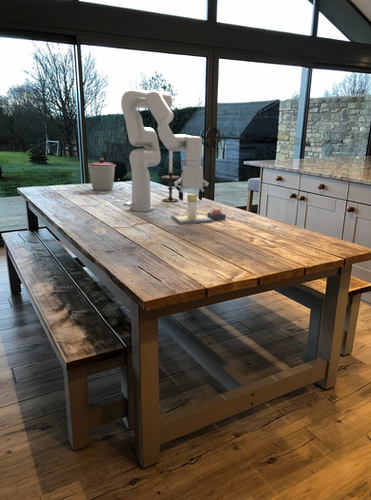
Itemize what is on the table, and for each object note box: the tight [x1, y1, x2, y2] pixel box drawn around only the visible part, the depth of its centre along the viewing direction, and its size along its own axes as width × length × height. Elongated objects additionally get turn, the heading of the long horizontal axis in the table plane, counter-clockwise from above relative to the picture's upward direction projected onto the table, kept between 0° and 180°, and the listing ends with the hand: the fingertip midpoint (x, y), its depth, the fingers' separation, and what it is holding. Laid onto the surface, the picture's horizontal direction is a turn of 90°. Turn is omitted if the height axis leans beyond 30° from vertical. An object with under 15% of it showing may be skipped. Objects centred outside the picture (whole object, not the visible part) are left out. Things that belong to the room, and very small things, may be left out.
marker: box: [186, 193, 198, 218], centre depth 196 cm, size 5×5×11 cm
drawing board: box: [171, 213, 213, 225], centre depth 198 cm, size 16×14×1 cm
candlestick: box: [160, 150, 181, 203], centre depth 238 cm, size 11×11×35 cm
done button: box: [211, 208, 222, 215], centre depth 201 cm, size 4×4×3 cm
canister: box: [87, 157, 117, 192], centre depth 273 cm, size 18×18×21 cm
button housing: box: [206, 211, 227, 221], centre depth 202 cm, size 7×7×2 cm
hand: (190, 199), depth 196 cm, fingers open, 9 cm apart
